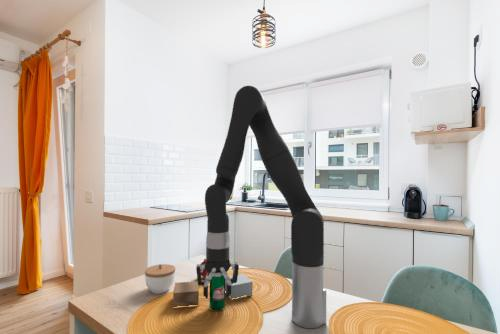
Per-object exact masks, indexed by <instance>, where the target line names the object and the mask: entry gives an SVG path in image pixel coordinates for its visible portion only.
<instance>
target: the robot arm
mask: <svg viewBox="0 0 500 334" xmlns="http://www.w3.org/2000/svg"><path fill="white" fill-rule="evenodd" d="M234 96H235V97H234V99H233V105H232V111H231V118H230V121H229V126H228V130H227V135H226V138H225V142H224V144H223V147H222V150H221V153H220V156H219V159H218V162H217V164H216V169H215V173H216V176H215V177H216V178H215V181H214V184H211V185H209V186H208V187H207V188H206V190H205V194H204V204H205V205H204V206H205V212H206V215H207V219H206V220H207V224H206V226H207V227H206V238H205V239H206V241H205V245H206V246H205V247H206V248H205V252H206V253H205V254H206V255H205V259H206V263H205V264H204V265H200V264H199V263H198V264H196V266H195V267H196V281H198V285H199V286H202V287H203V288H202V289H203V290H202V292H203V293H202V294H203V297H205V300H206V299H209V285H210V280H211V279H212V276H213V275H214V273H215V272H217V273H219V272H222V274H223V275H224V278H225V280H226V281H227V283H226V293H225V296H226V298H229V295H231V285H232V284H233V283H236V282H237V278H238V275H239V268H240V265H239V263H238V262H237V261H236V262H235V261H234V262H231V261H230V219H229V218H230V217H229V214H228V213H227V203H228V202H229V200H231V197H232V194H233V191H234V187H235V183H236V177H237V175H238V172H239V169H240V167H241V163H242V161H243V157H244V152H245V146H246V139H247V135H248V130H249V128H250V130H251V131H252V133H253V136H254V137H255V141H256V145H257V149H258V153H259V156H260V158H261V161H262V163H263V165H264V169H265V170H266V172H267V174H268V176H269V177H270V180H271V181H272V182H273V184H274V185H275V186H276V188H277V190H278V191H279V192H280V193H281V195H282V196H283V198H284V200H285V201H286V204H287V207H288V209H289V211H290V214H291V216H292V220H291V223H290V228H291V229H290V233H291V234H290V237H291V238H290V239H291V240H290V243H291V244H290V245H291V246H290V249H291V250H290V252H291V276H292V277H291V278H292V279H291V319H292V322H293V323H294V324H295V325H296V326H298V327H301V328H305V329H317V328H320V327H321V326H323V325H325V324H327V290H326V289H325V287H324V283H325V282H324V268H325V267H324V263H325V262H324V261H325V260H324V258H325V256H324V255H325V251H324V247H325V246H324V244H325V241H324V238H325V235H324V231H325V230H324V229H325V228H324V226H325V225H324V218H323V216H322V214H321V212H320V211H319V209H318V208H317V206H316V205H315V203H314V202H313V201H314V200H312V198H311V196H310V195H309V193H308V191H307V189H306V186H305V184H304V182H303V178H302V175H301V174H300V171H299V168H298V166H297V164H296V162H295V161H296V160H295V159H294V156H293V155H292V152H291V151H290V149H289V147H288V146H287V143H286V141H285V140H284V138H283V137H282V135H281V134H280V133H279V131H278V130H277V128H276V126H275V124H274V122H273V120H272V117H271V115H270V111H269V109H268V107H267V102H266V100H265V98H264V96H263V95H262V93H261V91H260V90H259V89H258V88H257V87H255V86H253V85H244V86H242V87H241V88H239V89H238V90H237V92H236V93H235V95H234ZM204 268H205V269H206V270H207V272H208V273H207V275H206V278H204V280H203V279H202V276H201V272H203V269H204ZM230 268H231V269H232V276H233V278H231V279H230V278H229V276H230V275H229V273H228V271H229V270H230Z"/></svg>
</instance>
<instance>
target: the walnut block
mask: <svg viewBox="0 0 500 334" xmlns="http://www.w3.org/2000/svg"><path fill="white" fill-rule="evenodd" d="M199 289H200V288H199V285H198V280H196V281H184V282H175V283H174V287H173V291H172V292H173V293H172V294H173V299H172V304H173V305H172V308H173V307H177V306H189V305H198V306H199Z"/></svg>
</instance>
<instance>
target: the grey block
mask: <svg viewBox="0 0 500 334" xmlns="http://www.w3.org/2000/svg"><path fill="white" fill-rule="evenodd" d="M228 276H229V278H230V279H231V278H233V275H228ZM226 283H227V281H226V280H225V291H226ZM244 295H247V296H249V297H252V296H253V281H252V280H251V279H250V278H249V277H247V276H246V275H245V274H244V273H240V274H239V273H238V278H237V282H236V283H233V284H232V285H231V295H229V296H230V297H231V299H232V298H237V297H241V296H244ZM231 299H230V300H231Z"/></svg>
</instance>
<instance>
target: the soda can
mask: <svg viewBox="0 0 500 334" xmlns="http://www.w3.org/2000/svg"><path fill="white" fill-rule="evenodd" d="M225 307H226V293H225V278H224V275H223V274H222V272H219V273H217V272H215V273H214V275H213V276H212V279H211V280H210V282H209V308H211V309H212V310H211V311H213V310H220V311H222V310H221V309H223V308H224V309H225ZM224 309H223V310H224Z"/></svg>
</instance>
